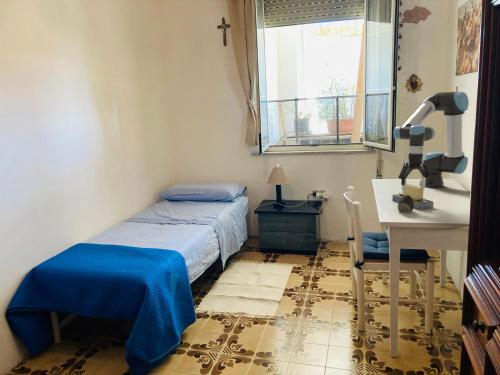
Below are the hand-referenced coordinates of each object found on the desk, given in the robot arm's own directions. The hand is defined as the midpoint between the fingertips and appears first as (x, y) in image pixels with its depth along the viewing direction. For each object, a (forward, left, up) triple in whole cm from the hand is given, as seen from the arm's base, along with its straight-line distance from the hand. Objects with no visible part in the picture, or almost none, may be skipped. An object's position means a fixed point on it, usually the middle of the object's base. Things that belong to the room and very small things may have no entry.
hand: (413, 189), depth 222 cm
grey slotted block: (0, 0, -9) cm, 9 cm away
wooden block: (0, 0, -7) cm, 7 cm away
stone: (+14, +11, -9) cm, 20 cm away
